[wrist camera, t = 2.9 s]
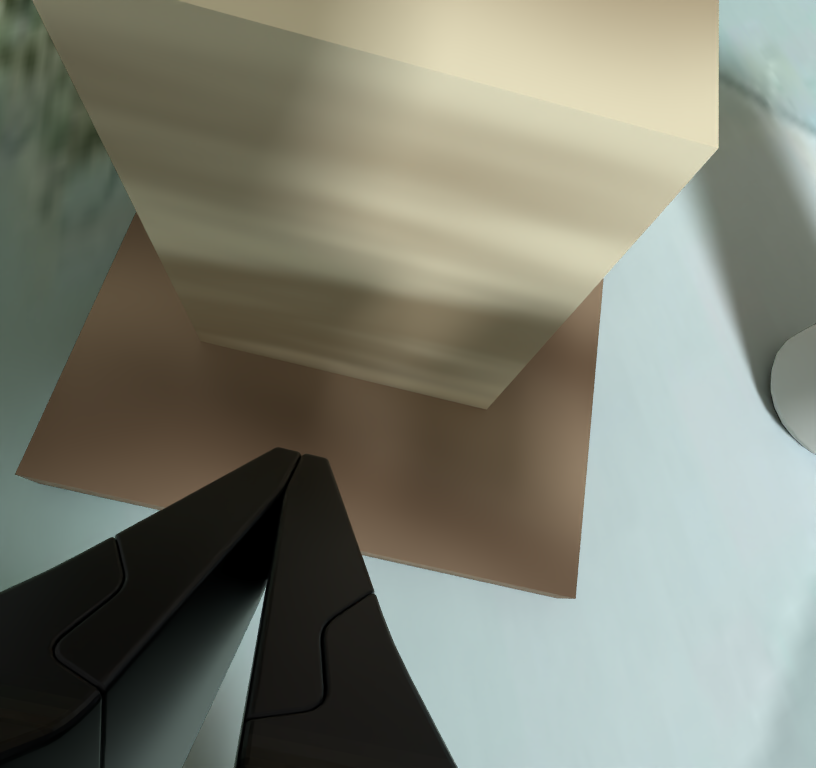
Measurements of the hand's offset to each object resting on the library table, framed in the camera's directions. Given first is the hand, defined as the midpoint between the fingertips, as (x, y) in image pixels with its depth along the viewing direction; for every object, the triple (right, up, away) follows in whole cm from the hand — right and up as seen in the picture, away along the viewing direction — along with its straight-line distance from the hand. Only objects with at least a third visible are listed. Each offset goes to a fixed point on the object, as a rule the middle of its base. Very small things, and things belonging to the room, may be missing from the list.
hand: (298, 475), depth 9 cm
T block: (+1, +6, +8) cm, 10 cm away
